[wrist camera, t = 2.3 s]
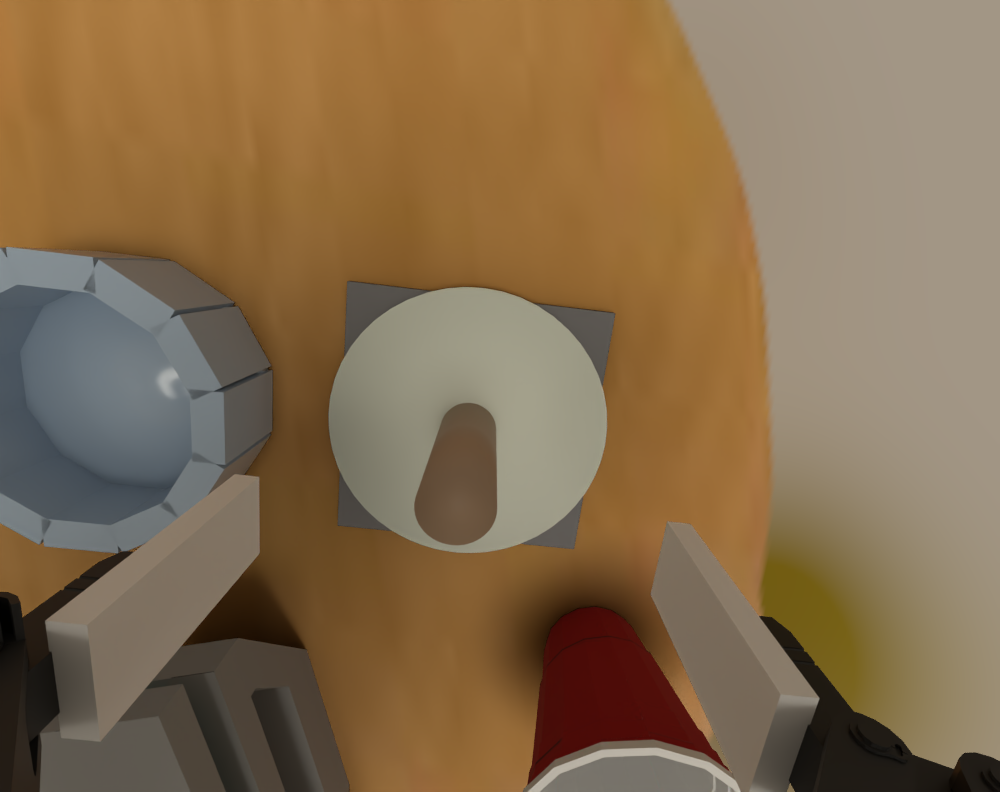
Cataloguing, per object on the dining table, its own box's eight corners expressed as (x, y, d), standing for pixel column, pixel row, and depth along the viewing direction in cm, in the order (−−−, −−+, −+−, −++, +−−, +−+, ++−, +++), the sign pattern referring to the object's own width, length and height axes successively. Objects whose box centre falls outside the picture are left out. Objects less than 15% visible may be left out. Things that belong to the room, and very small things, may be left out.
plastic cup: (508, 565, 30) (518, 752, 18) (682, 574, 30) (800, 764, 19) (497, 707, 33) (498, 949, 21) (656, 715, 33) (745, 957, 21)
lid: (329, 532, 29) (247, 661, 19) (338, 270, 25) (242, 270, 16) (580, 557, 29) (622, 694, 20) (626, 304, 26) (704, 325, 16)
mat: (340, 521, 29) (337, 525, 29) (350, 281, 26) (347, 281, 25) (572, 544, 30) (573, 549, 29) (613, 312, 26) (615, 313, 26)
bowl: (27, 490, 28) (-69, 535, 23) (-6, 238, 25) (-127, 230, 20) (272, 514, 29) (227, 563, 24) (272, 271, 25) (220, 272, 21)
